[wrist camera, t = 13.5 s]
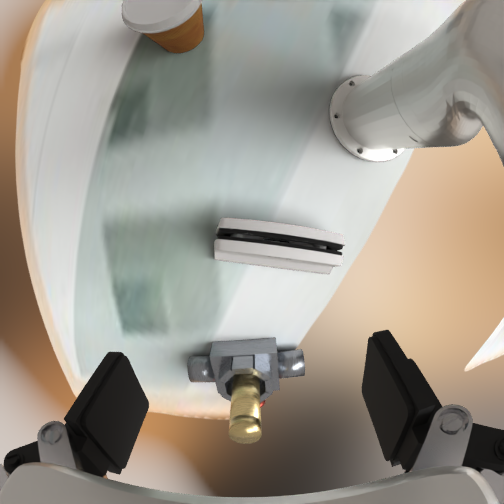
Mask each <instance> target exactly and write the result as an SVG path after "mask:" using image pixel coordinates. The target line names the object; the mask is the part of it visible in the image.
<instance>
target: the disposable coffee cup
mask: <svg viewBox="0 0 504 504" xmlns="http://www.w3.org/2000/svg"><path fill="white" fill-rule="evenodd" d="M201 2H202V0H123V3H122V18H123V21H124V23H125V24H126V25H127V26H128V27H129V28H130V29H132V30H134V31H136V32H141V33H143V34H145V35H146V36H148V37H149V38H150V39H152V40H153V41H155V42H156V43H158V44H159V45H160V46H162V47H163V48H165V49H166V50H167V51H169V52H172V53H183V52H187V51H190V50H192V49H193V48H195V47H196V46H197V45H198V44H199V43H200V42H201V41H202V39H203V36H204V26H203V15H202V4H201Z"/></svg>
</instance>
